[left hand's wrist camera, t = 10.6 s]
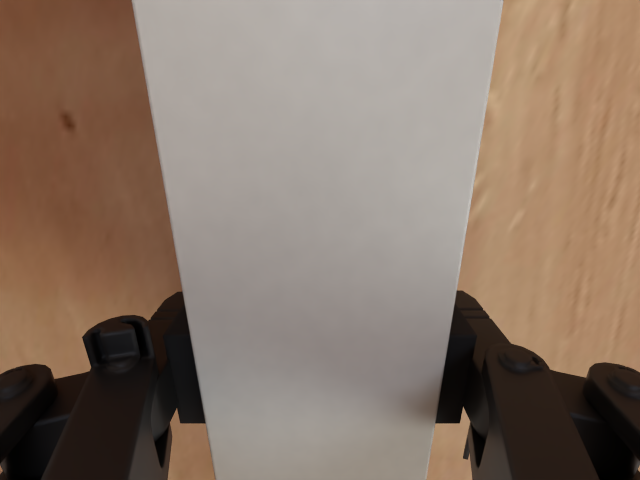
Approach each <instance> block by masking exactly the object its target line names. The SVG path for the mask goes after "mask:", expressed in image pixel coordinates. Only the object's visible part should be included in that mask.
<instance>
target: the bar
mask: <svg viewBox="0 0 640 480" xmlns="http://www.w3.org/2000/svg"><path fill="white" fill-rule="evenodd" d="M132 5H133V11H134V17H135V22H136V28H137V34H138V39H139V45H140V51H141V57H142V62H143V68H144V74H145V79H146V85H147V91H148V97H149V102H150V108H151V114H152V119H153V125H154V131H155V137H156V142H157V148H158V154H159V159H160V165H161V171H162V177H163V182H164V188H165V194H166V199H167V205H168V211H169V217H170V222H171V228H172V234H173V239H174V245H175V251H176V257H177V262H178V268H179V274H180V279H181V285H182V291H183V297H184V302H185V308H186V314H187V319H188V325H189V331H190V337H191V342H192V348H193V354H194V359H195V365H196V371H197V377H198V382H199V388H200V394H201V399H202V405H203V411H204V417H205V422H206V428H207V434H208V439H209V445H210V451H211V457H212V462H213V468H214V474H215V479H216V480H426V477H427V471H428V465H429V459H430V452H431V446H432V440H433V434H434V428H435V421H436V415H437V409H438V403H439V397H440V390H441V384H442V378H443V372H444V366H445V360H446V353H447V347H448V341H449V335H450V329H451V322H452V316H453V310H454V304H455V298H456V291H457V285H458V279H459V273H460V267H461V260H462V254H463V248H464V242H465V236H466V229H467V223H468V217H469V211H470V205H471V199H472V192H473V186H474V180H475V174H476V168H477V161H478V155H479V149H480V143H481V137H482V130H483V124H484V118H485V112H486V106H487V99H488V93H489V87H490V81H491V75H492V68H493V62H494V56H495V50H496V44H497V38H498V31H499V25H500V19H501V13H502V7H503V0H132Z"/></svg>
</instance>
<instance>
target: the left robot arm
mask: <svg viewBox="0 0 640 480" xmlns="http://www.w3.org/2000/svg"><path fill="white" fill-rule="evenodd" d="M82 338H83V342H84V345H85V348H86V351H87V355H88V358H89V361H90V365H91V369H90V371H89V372H86V373H82V374H77V375H72V376H68V377H63V378H58V379H54V377H53V374H52V371H51V369H50V368H48V367H47V366H46V365H40V364H32V365H25V366H20V367H16V368H13V369H11V370H8V371H6V372H4V373H2V374H0V466H1V468H2V470H3V472H2V473H1V474H0V480H167V479H168V470H169V461H170V453H171V444H172V431H171V426H170V421H171V419H172V417H173V415H174V413H175V410H176V408H177V409H178V414H179V419H180V423H206V422H205V417H204V411H203V405H202V399H201V394H200V388H199V382H198V377H197V371H196V365H195V359H194V354H193V348H192V342H191V337H190V331H189V325H188V319H187V314H186V308H185V302H184V297H183V292H177V293H175V294H174V295H172V296H171V297H169V298H167V299H166V300H165V301H164V302H163V303H162V304H161V306H160V307H159V308H158V309H157V312H155V313H154V315H153V316H152V317H151V320H149V321H147V320H146V319H145V318H143V317H140V316H136V315H127V316H119V317H115V318H111V319H108V320H106V321H103V322H101V323H99V324H97V325H95V326H94V327H92V328H91V329H89V330H88V331H87V332H86V333H85V335H84V336H83V337H82ZM463 407H464V409H465V411H466V413H467V415H468V417H469V419H470V426H469V431H468V435H467V440H466V445H465V449H464V455H463V459H467V460H468V457H469V452H470V460H471V469H472V478H473V480H640V472H639V471H638V467H639V465H640V372H638V371H636V370H634V369H632V368H629V367H625V366H622V365H619V364H612V363H596V364H594V365H593V366H591V367H590V368H589V371H588V374H587V377H586V378H584V377H580V376H575V375H570V374H566V373H561V372H556V371H553V370H550V369H549V367H548V365H547V364H546V363H545V361H544V360H543V359H542V358H541V357H539V356H538V355H537V354H535V353H534V352H532V351H530V350H528V349H526V348H524V347H521V346H517V345H514V344H511V343H510V342H509V341H508V339H507V338H506V337H505V336H504V334H503V333H502V332H501V331H500V329H499V328H498V327H497V326H496V324H495V323H494V322H493V321H492V319H490V318H489V316H488V314H487V313H486V312H485V311H484V310H483V308H482V307H481V306H480V304H479V303H478V302H477V301H476V299H475V298H473V297H471V296H470V295H468V294H467V293H465V292H464V291H456V298H455V304H454V310H453V316H452V322H451V329H450V335H449V341H448V347H447V353H446V360H445V366H444V372H443V378H442V384H441V390H440V397H439V403H438V409H437V415H436V421H435V423H460V419H461V414H462V409H463Z"/></svg>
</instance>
